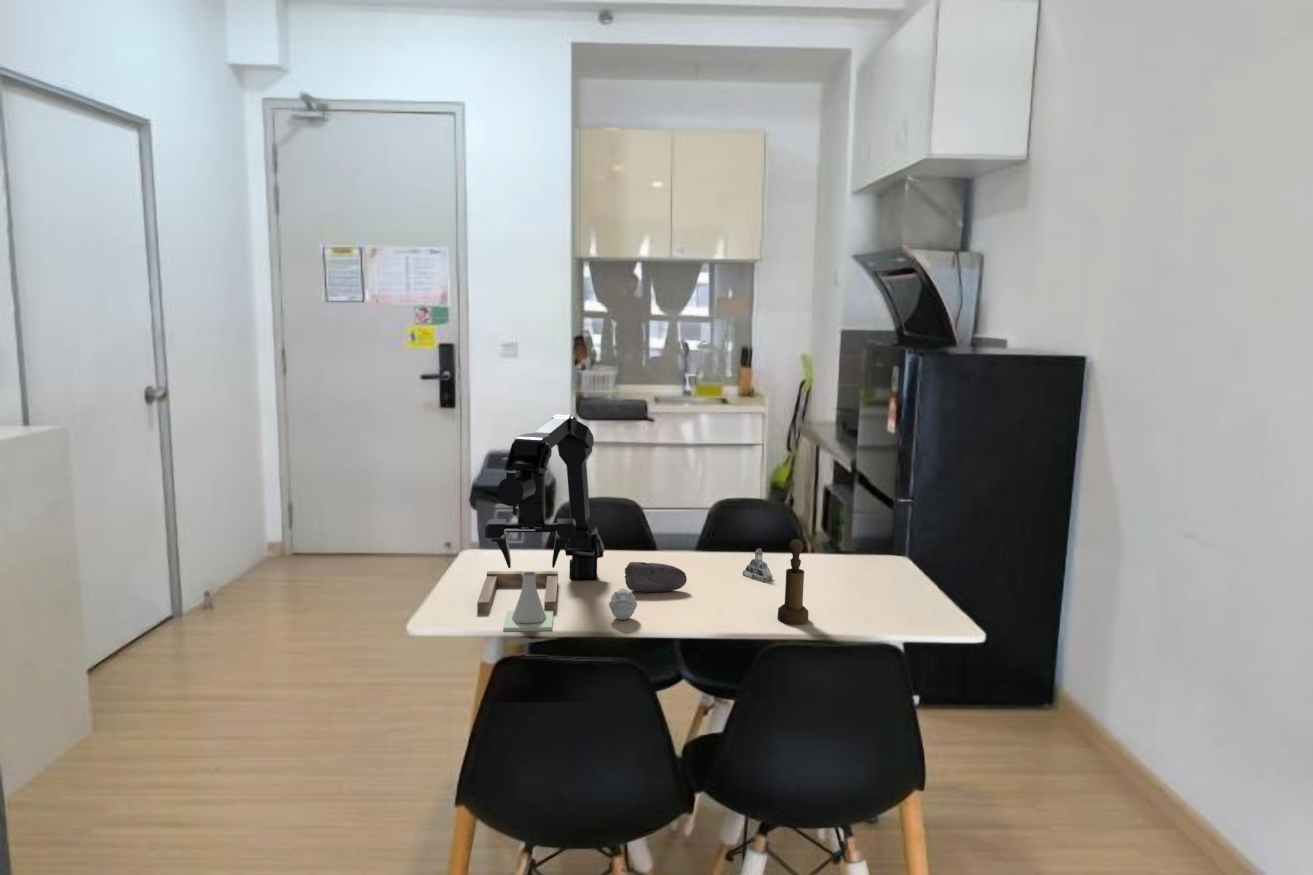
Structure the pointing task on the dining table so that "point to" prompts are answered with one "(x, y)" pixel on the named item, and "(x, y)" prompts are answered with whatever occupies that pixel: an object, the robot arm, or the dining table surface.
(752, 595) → the dining table surface
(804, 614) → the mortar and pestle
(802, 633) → the dining table surface
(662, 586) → the perforated stone tool
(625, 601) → the frog figurine
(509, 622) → the pad
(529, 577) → the flask
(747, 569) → the grey temple model
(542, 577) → the frame
